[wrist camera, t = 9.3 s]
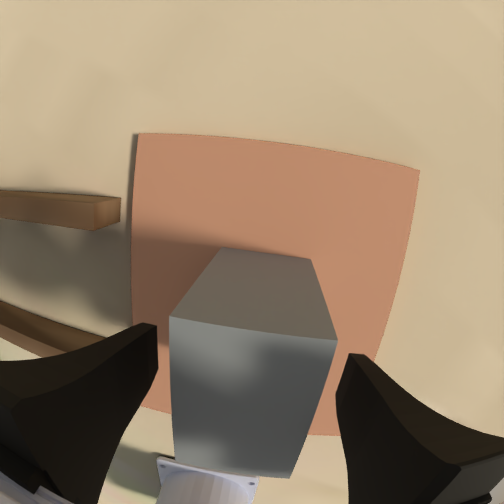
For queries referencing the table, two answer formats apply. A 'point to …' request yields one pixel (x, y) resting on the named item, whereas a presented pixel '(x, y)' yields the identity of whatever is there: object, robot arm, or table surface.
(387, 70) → the table surface
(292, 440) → the blank block
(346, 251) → the mat
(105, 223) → the frame
